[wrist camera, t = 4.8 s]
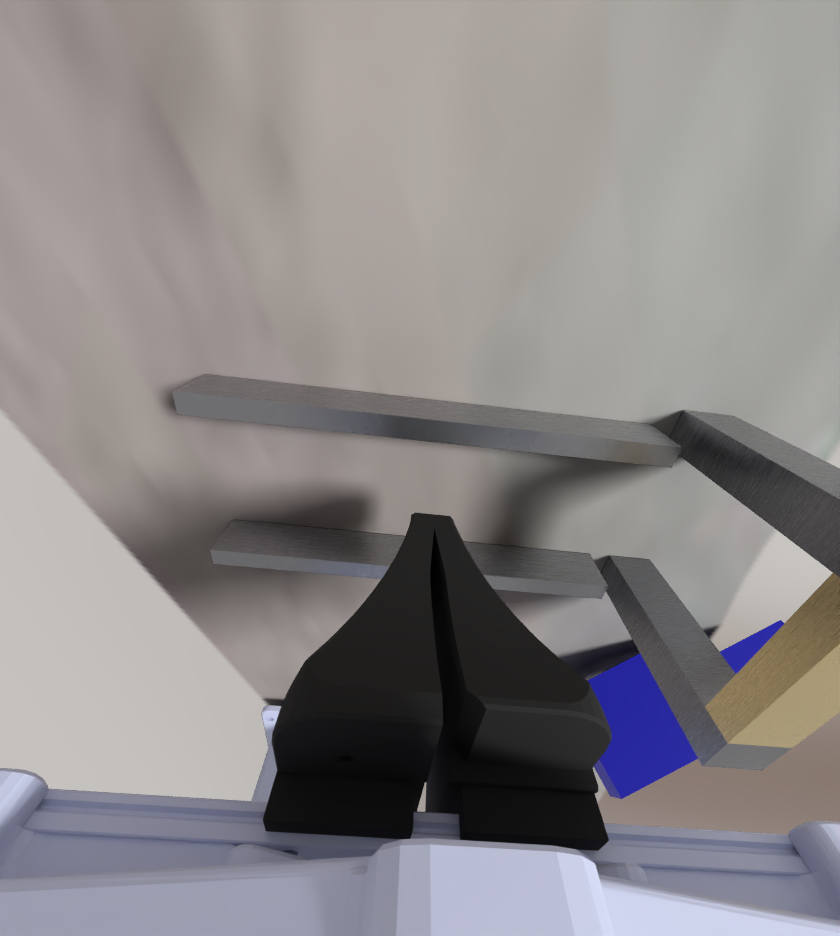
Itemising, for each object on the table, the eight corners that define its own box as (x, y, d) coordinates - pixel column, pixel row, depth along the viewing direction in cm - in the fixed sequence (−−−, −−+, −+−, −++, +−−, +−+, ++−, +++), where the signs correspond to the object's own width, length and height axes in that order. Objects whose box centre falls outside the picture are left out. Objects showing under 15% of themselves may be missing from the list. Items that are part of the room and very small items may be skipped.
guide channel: (584, 566, 18) (601, 598, 16) (234, 532, 17) (213, 563, 15) (650, 424, 14) (682, 447, 12) (205, 374, 13) (171, 391, 11)
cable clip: (562, 693, 20) (562, 710, 24) (621, 798, 16) (610, 796, 21) (752, 595, 20) (719, 629, 24) (847, 679, 17) (790, 701, 21)
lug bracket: (637, 581, 18) (762, 770, 11) (598, 577, 18) (702, 766, 11) (733, 416, 14) (1034, 565, 7) (683, 410, 14) (937, 556, 7)
